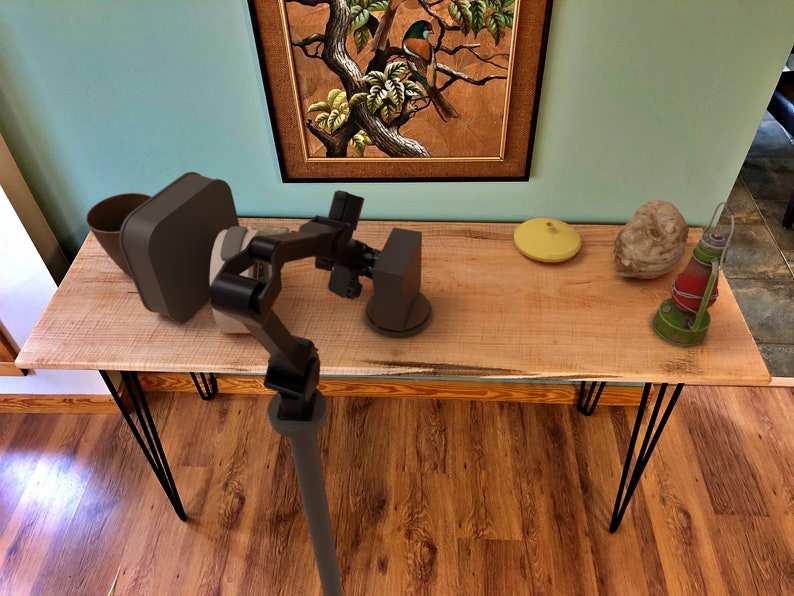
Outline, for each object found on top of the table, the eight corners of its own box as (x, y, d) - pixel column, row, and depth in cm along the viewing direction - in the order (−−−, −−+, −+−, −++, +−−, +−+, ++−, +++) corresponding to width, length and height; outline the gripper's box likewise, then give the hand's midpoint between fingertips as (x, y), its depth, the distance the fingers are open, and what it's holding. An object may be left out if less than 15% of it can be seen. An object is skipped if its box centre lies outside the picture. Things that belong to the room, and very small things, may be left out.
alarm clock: (258, 346, 126) (241, 272, 113) (222, 346, 126) (200, 272, 113) (275, 278, 142) (261, 205, 128) (242, 278, 142) (225, 205, 129)
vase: (593, 253, 147) (599, 229, 142) (544, 278, 141) (549, 253, 136) (546, 221, 157) (550, 197, 152) (498, 243, 150) (501, 219, 146)
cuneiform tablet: (299, 259, 147) (249, 254, 148) (304, 250, 151) (256, 246, 152) (297, 231, 143) (247, 227, 144) (302, 223, 147) (253, 219, 148)
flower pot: (174, 243, 152) (157, 187, 141) (178, 281, 141) (160, 224, 130) (110, 256, 148) (86, 199, 138) (109, 296, 138) (84, 238, 127)
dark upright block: (358, 324, 128) (354, 266, 117) (379, 281, 138) (377, 224, 127) (419, 337, 125) (420, 278, 115) (436, 292, 135) (439, 234, 124)
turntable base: (431, 339, 127) (431, 334, 126) (362, 337, 128) (362, 332, 127) (431, 293, 138) (431, 288, 136) (368, 291, 138) (368, 286, 137)
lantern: (645, 304, 134) (687, 185, 114) (695, 306, 133) (747, 187, 113) (659, 352, 124) (708, 230, 104) (714, 355, 123) (775, 233, 103)
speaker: (176, 332, 129) (141, 235, 112) (144, 319, 132) (105, 223, 115) (247, 263, 146) (226, 170, 129) (218, 253, 149) (194, 160, 132)
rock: (682, 295, 136) (705, 240, 126) (608, 288, 138) (624, 233, 128) (669, 246, 149) (689, 192, 139) (602, 240, 151) (616, 187, 141)
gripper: (290, 269, 123) (330, 282, 137) (363, 309, 115) (398, 318, 129) (313, 218, 122) (352, 236, 136) (389, 255, 114) (421, 270, 128)
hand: (379, 266), depth 132 cm, fingers closed, pressing on dark upright block
